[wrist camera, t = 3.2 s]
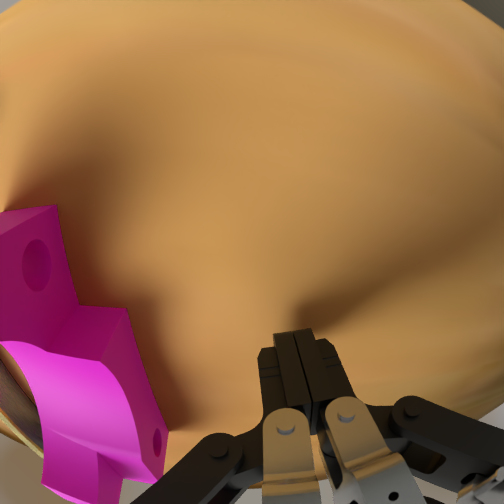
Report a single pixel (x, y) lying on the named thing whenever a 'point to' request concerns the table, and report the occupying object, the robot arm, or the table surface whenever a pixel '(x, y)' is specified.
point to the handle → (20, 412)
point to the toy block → (76, 368)
